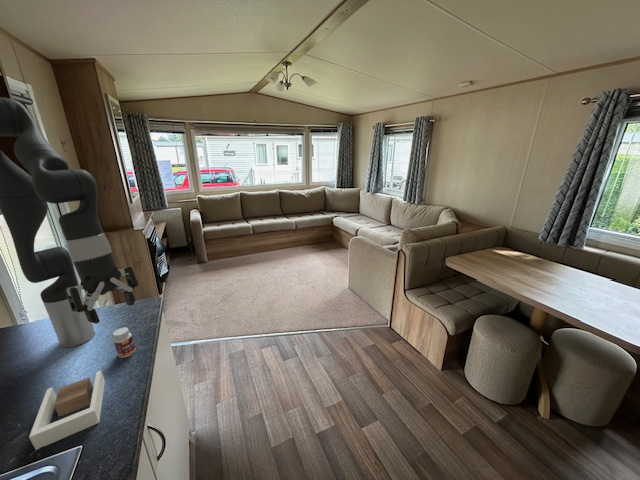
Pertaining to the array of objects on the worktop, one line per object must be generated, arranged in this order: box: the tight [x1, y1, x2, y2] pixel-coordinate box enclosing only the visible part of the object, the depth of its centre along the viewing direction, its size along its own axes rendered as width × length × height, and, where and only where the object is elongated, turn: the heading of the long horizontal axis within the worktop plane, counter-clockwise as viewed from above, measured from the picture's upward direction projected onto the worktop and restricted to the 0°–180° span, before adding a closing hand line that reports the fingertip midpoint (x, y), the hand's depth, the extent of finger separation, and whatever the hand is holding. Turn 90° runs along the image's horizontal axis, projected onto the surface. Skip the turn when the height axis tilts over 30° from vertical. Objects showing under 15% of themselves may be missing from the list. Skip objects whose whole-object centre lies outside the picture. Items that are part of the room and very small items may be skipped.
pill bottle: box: [112, 327, 136, 359], centre depth 84 cm, size 5×5×8 cm
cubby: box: [29, 369, 106, 451], centre depth 66 cm, size 14×11×4 cm
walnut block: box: [54, 377, 94, 418], centre depth 69 cm, size 6×6×4 cm
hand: (114, 313), depth 68 cm, fingers open, 8 cm apart
